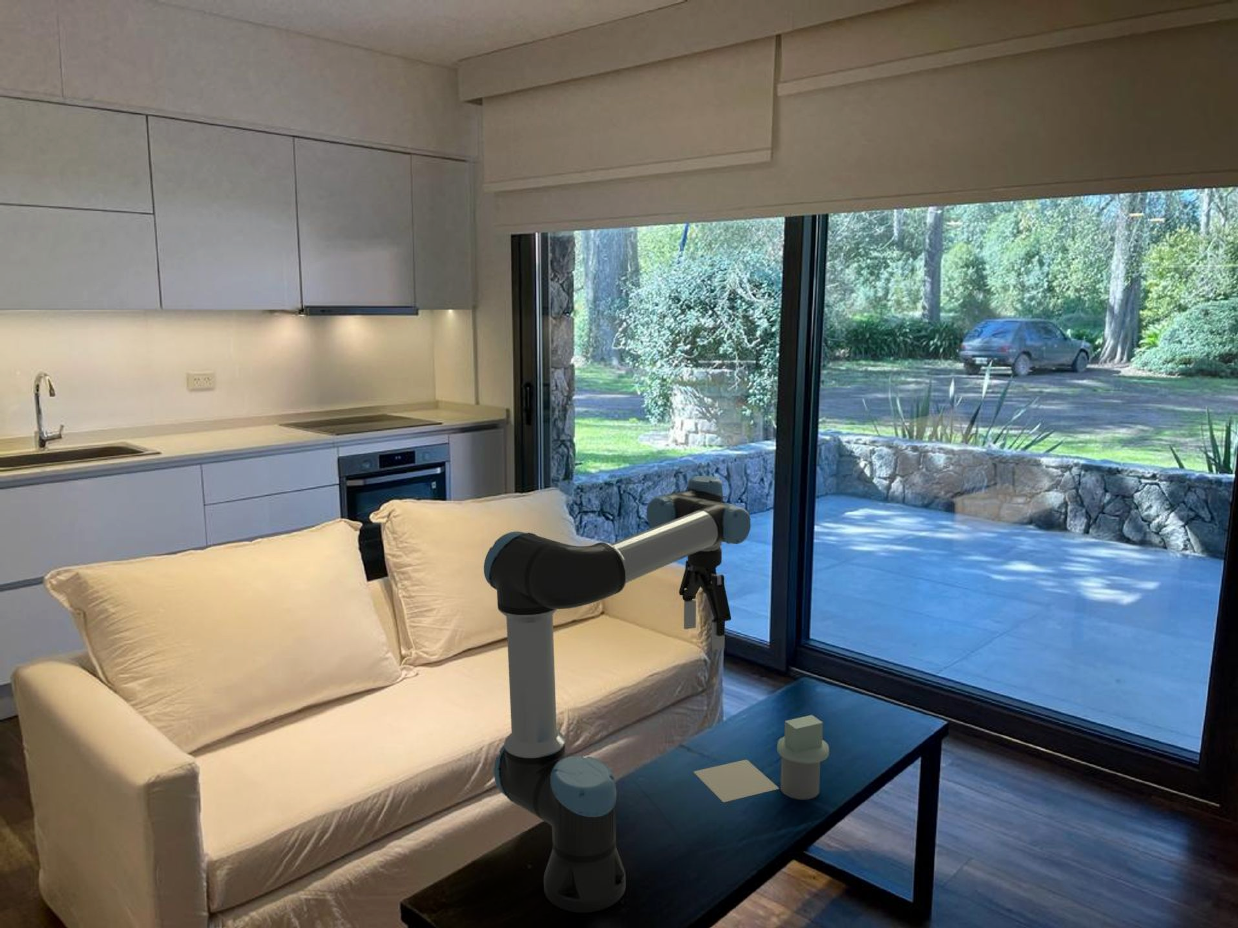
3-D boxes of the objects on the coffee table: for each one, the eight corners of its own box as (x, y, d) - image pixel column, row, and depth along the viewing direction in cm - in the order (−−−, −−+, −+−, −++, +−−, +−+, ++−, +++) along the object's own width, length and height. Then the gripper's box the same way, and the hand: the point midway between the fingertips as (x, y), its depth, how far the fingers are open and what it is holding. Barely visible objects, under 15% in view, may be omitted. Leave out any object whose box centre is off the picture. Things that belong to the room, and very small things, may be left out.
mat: (723, 805, 199) (723, 801, 199) (693, 774, 212) (693, 771, 212) (779, 791, 204) (779, 788, 204) (746, 762, 217) (746, 759, 217)
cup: (818, 804, 199) (820, 761, 197) (779, 800, 201) (781, 757, 199) (818, 784, 207) (820, 742, 206) (781, 780, 209) (782, 739, 207)
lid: (796, 767, 195) (797, 737, 194) (767, 744, 205) (768, 716, 204) (839, 756, 199) (840, 727, 198) (808, 734, 209) (809, 706, 208)
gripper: (748, 559, 195) (746, 655, 199) (694, 531, 218) (693, 617, 221) (716, 563, 192) (715, 660, 196) (665, 534, 215) (664, 622, 219)
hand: (703, 638), depth 209 cm, fingers open, 13 cm apart
